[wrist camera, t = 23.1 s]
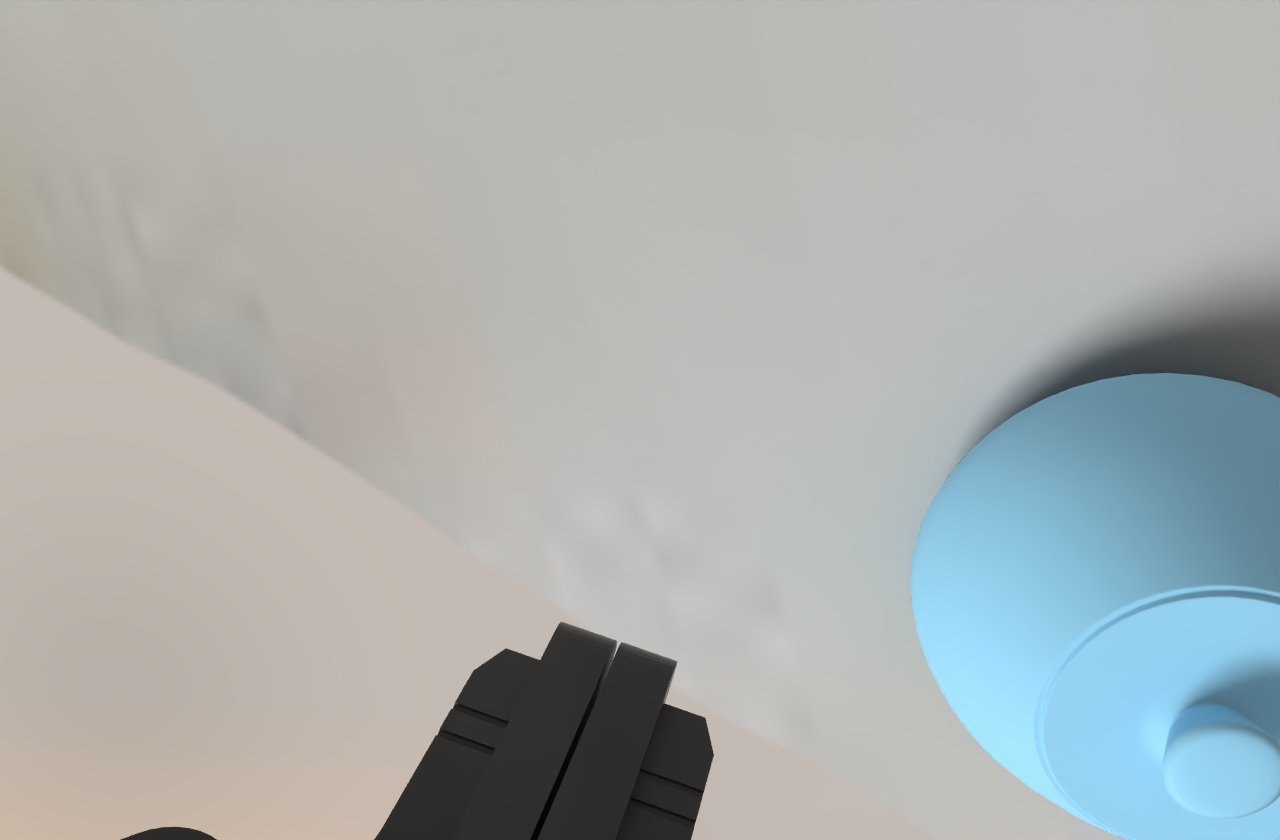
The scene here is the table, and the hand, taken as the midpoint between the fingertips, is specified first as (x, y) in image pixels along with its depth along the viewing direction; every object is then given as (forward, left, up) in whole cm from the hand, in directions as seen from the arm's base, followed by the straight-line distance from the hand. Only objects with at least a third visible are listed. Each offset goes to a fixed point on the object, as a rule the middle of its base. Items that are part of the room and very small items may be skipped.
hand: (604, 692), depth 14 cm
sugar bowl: (-15, +9, -26) cm, 31 cm away
